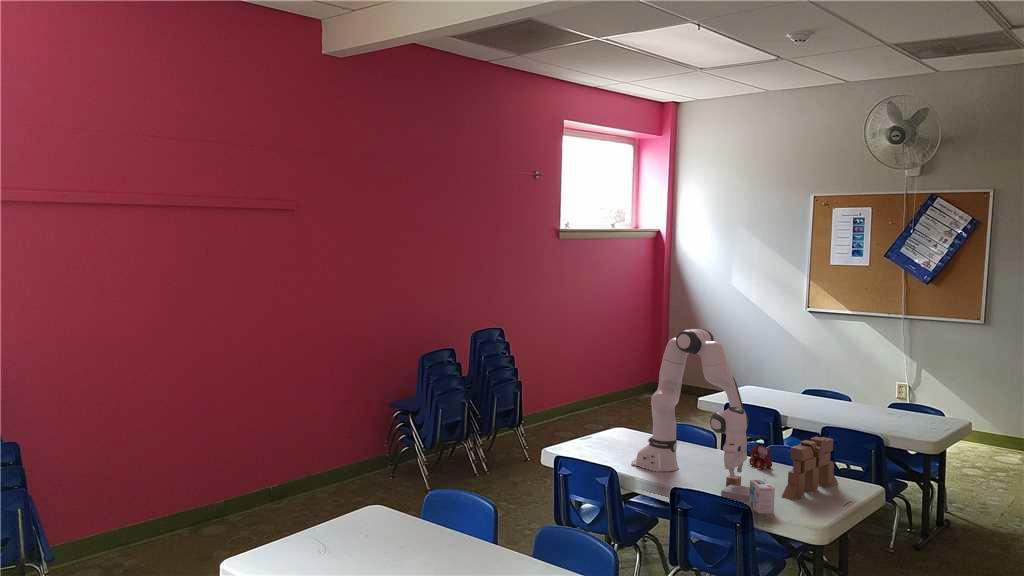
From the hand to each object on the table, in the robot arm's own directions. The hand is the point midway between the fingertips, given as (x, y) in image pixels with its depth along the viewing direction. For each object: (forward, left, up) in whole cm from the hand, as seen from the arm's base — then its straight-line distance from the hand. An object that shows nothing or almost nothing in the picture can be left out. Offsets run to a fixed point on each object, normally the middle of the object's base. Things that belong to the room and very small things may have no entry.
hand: (736, 474), depth 351 cm
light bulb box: (+18, -21, -6) cm, 28 cm away
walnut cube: (-1, -1, -6) cm, 6 cm away
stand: (+5, -10, -6) cm, 12 cm away
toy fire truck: (-2, +39, -6) cm, 40 cm away
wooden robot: (+28, +18, -6) cm, 34 cm away
